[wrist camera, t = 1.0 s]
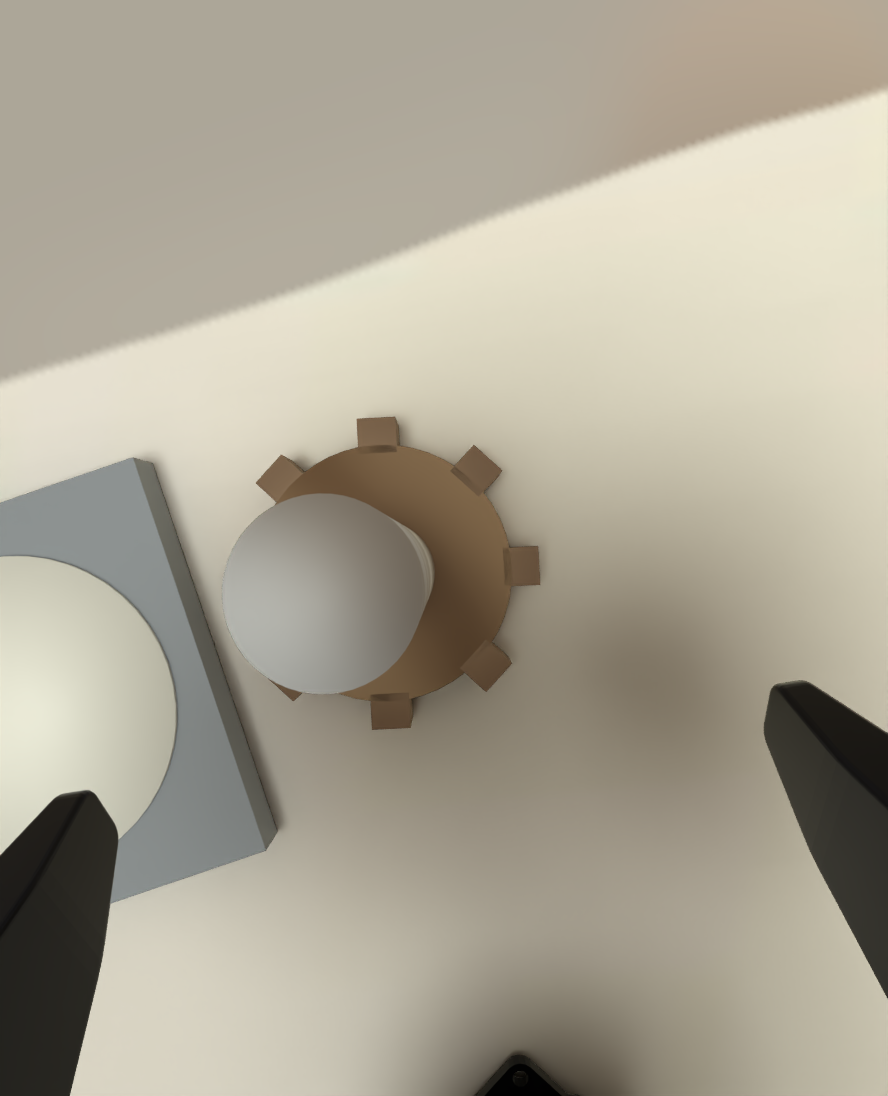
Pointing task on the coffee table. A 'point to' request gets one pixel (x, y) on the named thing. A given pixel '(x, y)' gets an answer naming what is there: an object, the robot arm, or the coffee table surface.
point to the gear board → (119, 682)
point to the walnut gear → (375, 575)
